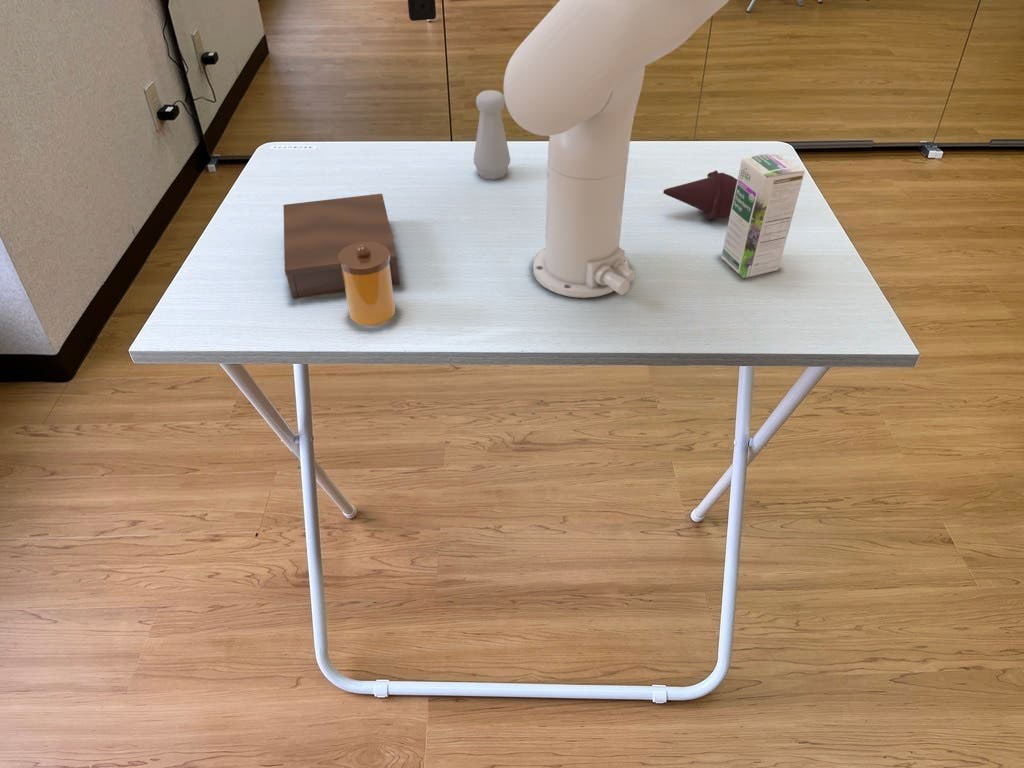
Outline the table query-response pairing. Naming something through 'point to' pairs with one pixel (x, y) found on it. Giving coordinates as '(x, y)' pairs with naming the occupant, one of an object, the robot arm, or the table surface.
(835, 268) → the table surface
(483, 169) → the salt shaker
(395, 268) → the chest
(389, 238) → the chest lid
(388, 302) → the honey pot
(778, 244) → the syrup box
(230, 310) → the table surface
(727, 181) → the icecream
